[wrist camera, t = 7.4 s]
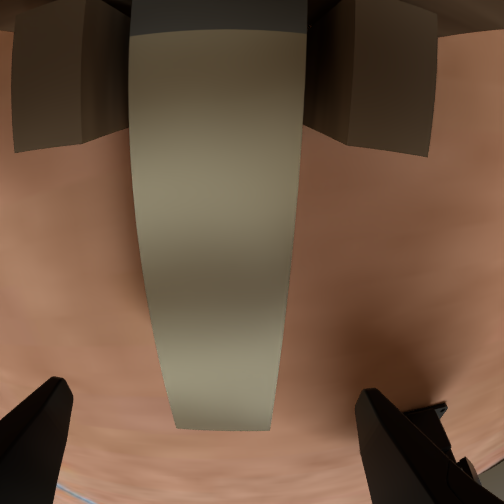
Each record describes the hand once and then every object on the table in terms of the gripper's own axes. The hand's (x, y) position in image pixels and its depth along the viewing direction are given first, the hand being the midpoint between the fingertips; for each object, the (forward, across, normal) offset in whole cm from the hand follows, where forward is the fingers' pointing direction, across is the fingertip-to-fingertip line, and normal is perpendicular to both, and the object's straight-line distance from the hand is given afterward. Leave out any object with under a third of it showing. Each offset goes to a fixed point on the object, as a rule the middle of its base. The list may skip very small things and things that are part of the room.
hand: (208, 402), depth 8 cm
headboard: (+7, 0, -9) cm, 12 cm away
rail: (+7, 0, -2) cm, 7 cm away
